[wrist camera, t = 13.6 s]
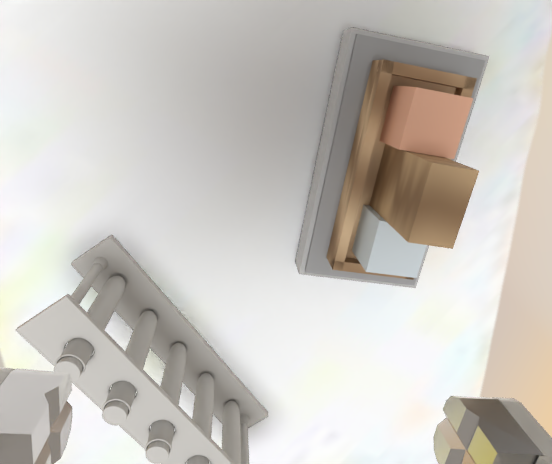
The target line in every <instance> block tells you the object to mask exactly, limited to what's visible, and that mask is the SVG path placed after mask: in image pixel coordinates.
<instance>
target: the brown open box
mask: <svg viewBox="0 0 552 464" xmlns="http://www.w3.org/2000/svg"><path fill="white" fill-rule="evenodd" d="M476 80H477V78H472V77H467V76H463V75H458V74H453V73H448V72H443V71H438V70H433V69H428V68H423V67H419V66H414V65H409V64H404V63H399V62H394V61H389V60H384V59H383V60H373V61H372V65H371V70H370V74H369V78H368V82H367V87H366V91H365V95H364V99H363V104H362V108H361V112H360V116H359V121H358V125H357V129H356V133H355V138H354V142H353V146H352V150H351V155H350V159H349V163H348V167H347V172H346V176H345V180H344V184H343V189H342V193H341V197H340V201H339V206H338V210H337V214H336V218H335V223H334V227H333V231H332V235H331V240H330V244H329V248H328V252H327V257H326V258H327V260H328V262H329V264H330V266H331V268H332V269H333V270H338V271H346V272H354V273H362V274H370V275H378V276H386V277H395V278H403V279H411V280H414V278H412V277H404V276H396V275H388V274H379V273H371V272H366V271H365V270H364V268H363V267H362V265H361V264H360V262H359V261H358V259H357V258H356V256H355V255H354V253H353V252H352V248H353V244H354V240H355V236H356V232H357V228H358V224H359V220H360V216H361V212H362V208H363V205H370V206H371V207H372V208H373V209H374V210H375V211H376V212H377V213H378V214H379V215H380V216H381V217H382V218H383V219H384V220H385V221H386V222H387V223H388V224H389V225H390V226H391V227H392V228H394V229H395V230H396V231H397V232H398V233H399V234H400V235H401V236H402V237H403V238H404V239H405V240H406V241H407V242H408V243H416V244H423V245H430V246H437V247H445V248H452V249H453V246H454V243H455V240H456V237H457V234H458V231H459V228H460V226H461V223H462V220H463V217H464V214H465V211H466V208H467V205H468V202H469V199H470V196H471V193H472V190H473V187H474V184H475V182H476V179H477V176H478V173H479V171H478V170H476V169H473V168H470V167H468V166H465V165H463V164H460V163H458V162H455V161H453V160H451V158H445V157H439V156H433V155H427V154H421V153H416V152H410V151H404V150H399V149H396V148H394V147H392V146H390V145H388V144H385V143H383V142H381V141H380V137H381V133H382V129H383V126H384V122H385V118H386V114H387V110H388V106H389V102H390V98H391V94H392V90H393V86H408V87H418V88H423V89H428V90H434V91H439V92H444V93H449V94H454V95H459V96H464V97H469V98H471V96H472V93H473V90H474V87H475V83H476Z"/></svg>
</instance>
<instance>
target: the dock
mask: <svg viewBox="0 0 552 464" xmlns="http://www.w3.org/2000/svg"><path fill="white" fill-rule="evenodd" d="M383 59H384V60H389V61H394V62H399V63H404V64H409V65H414V66H419V67H423V68H428V69H433V70H438V71H443V72H448V73H453V74H458V75H463V76H467V77H472V78H477V80H476V83H475V87H474V90H473V93H472V96H471V98H473V101H472V105H471V108H470V111H469V114H468V117H467V120H466V123H465V127H464V130H463V133H462V136H461V139H460V142H459V146H458V149H457V152H456V155H455V158H454V159H451V160H453V161H455V162H456V159H457V156H458V153H459V150H460V147H461V144H462V140H463V137H464V134H465V131H466V128H467V125H468V122H469V118H470V115H471V112H472V109H473V106H474V103H475V100H476V96H477V93H478V90H479V87H480V84H481V81H482V78H483V74H484V71H485V68H486V65H487V62H488V59H489V56H486V55H481V54H476V53H472V52H467V51H462V50H457V49H453V48H448V47H443V46H439V45H434V44H429V43H424V42H420V41H415V40H410V39H406V38H401V37H396V36H391V35H387V34H382V33H377V32H373V31H368V30H363V29H358V28H354V27H351V28H349V29H346V30H344V31H343V34H342V39H341V44H340V49H339V53H338V58H337V63H336V68H335V73H334V78H333V82H332V87H331V92H330V97H329V102H328V106H327V111H326V116H325V121H324V126H323V130H322V135H321V140H320V145H319V150H318V155H317V159H316V164H315V169H314V174H313V179H312V183H311V188H310V193H309V198H308V203H307V207H306V212H305V217H304V222H303V227H302V231H301V236H300V241H299V246H298V251H297V256H296V260H295V263H296V266H297V269H298V272H299V274H303V275H311V276H320V277H328V278H337V279H345V280H353V281H362V282H370V283H378V284H387V285H395V286H403V287H412V288H416V285H417V282H418V279H419V276H420V272H421V269H422V266H423V263H424V260H425V257H426V254H427V250H428V247H429V245H427V247H426V250H425V253H424V256H423V259H422V263H421V266H420V269H419V272H418V275H417V278H414V280H411V279H403V278H395V277H386V276H378V275H370V274H362V273H354V272H346V271H338V270H333V269H332V268H331V266H330V264H329V262H328V260H327V258H326V257H327V252H328V248H329V244H330V240H331V235H332V231H333V227H334V223H335V218H336V214H337V210H338V206H339V201H340V197H341V193H342V189H343V184H344V180H345V176H346V172H347V167H348V163H349V159H350V155H351V150H352V146H353V142H354V138H355V133H356V129H357V125H358V121H359V116H360V112H361V108H362V104H363V99H364V95H365V91H366V87H367V82H368V78H369V74H370V70H371V65H372V61H373V60H383Z"/></svg>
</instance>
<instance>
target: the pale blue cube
mask: <svg viewBox="0 0 552 464" xmlns="http://www.w3.org/2000/svg"><path fill="white" fill-rule="evenodd" d="M426 247H427V245H423V244H416V243H408V242H407V241H406V240H405V239H404V238H403V237H402V236H401V235H400V234H399V233H398V232H397V231H396V230H395V229H394V228H392V227H391V226H390V225H389V224H388V223H387V222H386V221H385V220H384V219H383V218H382V217H381V216H380V215H379V214H378V213H377V212H376V211H375V210H374V209H373V208H372V207H371V206H370V205H363V208H362V212H361V216H360V220H359V224H358V228H357V232H356V236H355V240H354V244H353V248H352V252H353V253H354V255H355V256H356V258H357V259H358V261H359V262H360V264H361V265H362V267H363V268H364V270H365V271H366V272H371V273H379V274H388V275H396V276H404V277H412V278H417V275H418V272H419V269H420V266H421V263H422V259H423V256H424V253H425V250H426Z"/></svg>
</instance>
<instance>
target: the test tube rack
mask: <svg viewBox="0 0 552 464" xmlns="http://www.w3.org/2000/svg"><path fill="white" fill-rule="evenodd" d="M71 265H72V266H73V268H74V269H75V270H76V271H77V272H78V273H79V274H80V275H81V276H82V277H83V278H84V279H83V280H82V282H81V283H80V284H79V286H78V287H77V289H76V290H75V291H74V293H73V294H72V295H71V296H70V295H69V294H67V295H66V296H64V297H63V298H61V299H60V300H58V301H57V302H55V303H54V304H52V305H51V306H49V307H48V308H46V309H45V310H43V311H42V312H40V313H39V314H37V315H36V316H34V317H33V318H31V319H30V320H28V321H27V322H25V323H24V324H22V325H21V326H19V327H18V328H17V329H16V331H17V332H18V333H19V334H20V335H21V336H22V337H23V338H24V339H25V340H26V341H27V342H28V343H30V344H31V345H32V346H33V347H34V348H35V349H36V350H37V351H38V352H39V353H40V354H42V355H43V356H44V357H45V358H46V359H47V360H48V361H49V362H50V363H51V364H52V365H54V366H55V367H54V372H64V373H69V374H70V375H71V380H72V383H73V384H74V385H75V386H76V387H78V388H79V389H80V390H81V391H82V392H83V393H84V394H85V395H86V396H87V397H88V398H90V399H91V400H92V401H93V402H94V403H95V404H96V405H97V406H98V407H99V408H100V409H101V410H102V411H103V413H102V417H103V419H104V420H105V421H106V422H107V423H108V424H111V425H119V426H120V427H121V428H122V429H123V430H124V431H125V432H127V433H128V434H129V435H130V436H131V437H132V438H133V439H134V440H135V441H136V442H137V443H139V444H140V445H141V446H142V447H143V448H144V449H145V451H146V458H147V459H148V460H149V461H150V462H152V463H154V464H186V462H187V464H209V462H210V464H249V447H248V428H249V427H251V426H253V425H255V424H256V423H258V422H260V421H261V420H263V419H265V418H267V417H268V412H267V410H266V409H265V408H264V407H263V406H262V405H261V404H260V402H259V401H258V400H257V399H256V398H255V397H254V396H253V394H252V393H251V392H250V391H249V390H248V389H247V388H246V387H245V385H244V384H243V383H242V382H241V381H240V380H239V379H238V377H237V376H236V375H235V374H234V373H233V372H232V371H231V369H230V368H229V367H228V366H227V365H226V364H225V363H224V361H223V360H222V359H221V358H220V357H219V356H218V355H217V354H216V352H215V351H214V350H213V349H212V348H211V347H210V346H209V344H208V343H207V342H206V341H205V340H204V339H203V338H202V336H201V335H200V334H199V333H198V332H197V331H196V330H195V328H194V327H193V326H192V325H191V324H190V323H189V322H188V321H187V319H186V318H185V317H184V316H183V315H182V314H181V313H180V311H179V310H178V309H177V308H176V307H175V306H174V305H173V303H172V302H171V301H170V300H169V299H168V298H167V297H166V295H165V294H164V293H163V292H162V291H161V290H160V289H159V288H158V286H157V285H156V284H155V283H154V282H153V281H152V280H151V278H150V277H149V276H148V275H147V274H146V273H145V272H144V270H143V269H142V268H141V267H140V266H139V265H138V264H137V262H136V261H135V260H134V259H133V258H132V257H131V256H130V254H129V253H128V252H127V251H126V250H125V249H124V248H123V246H122V245H121V244H120V243H119V242H118V241H117V240H116V239H115V237H114V236H113V235H111V236H109V237H108V238H106V239H105V240H103V241H102V242H100V243H99V244H97V245H96V246H94V247H93V248H91V249H90V250H89V251H87V252H86V253H84V254H83V255H81V256H80V257H78V258H77V259H75V260H74V261H73V262H72V263H71ZM91 286H92V287H93V288H94V290H95V291H96V292H97V293H98V295H97V297H96V299H95V300H94V302H93V304H92V305H91V307H90V308H89V310H88V312H86V311H85V310H84V309H83V308H82V307H81V306H80V305H79V304H80V302H81V301H82V299H83V298H84V296H85V295H86V293H87V292H88V290H89V289H90V287H91ZM114 311H115V312H116V313H117V314H118V315H119V316H120V317H121V318H122V319H123V320H124V321H125V322H126V323H127V324H128V325H129V326H130V327H131V328H132V329H133V330H134V331H133V333H132V336H131V338H130V341H129V344H128V346H127V349H126V351H124V350H123V349H122V348H121V347H120V346H119V345H118V344H117V343H116V342H115V341H114V340H113V339H112V338H111V337H110V336H109V335H108V334H107V333H106V332H105V331H104V330H105V328H106V326H107V324H108V322H109V320H110V318H111V316H112V314H113V312H114ZM67 342H68V344H67ZM66 344H67V346H66ZM65 346H66V347H65ZM149 348H151V349H152V350H153V352H154V353H155V354H156V355H157V356H158V357H159V358H160V359H161V360H162V361H163V362H164V363H165V364H166V365H165V369H164V374H163V378H162V382H161V386H159V385H158V384H157V383H156V382H155V381H154V380H153V379H152V378H151V377H150V376H149V375H148V374H147V373H146V372H145V371H144V370H143V368H144V364H145V361H146V358H147V355H148V351H149ZM93 351H94V353H93ZM92 353H93V355H92ZM91 355H92V356H91ZM182 382H183V383H184V384H185V385H186V386H187V387H188V388H189V389H190V390H191V391H192V392H193V394H194V395H195V402H194V410H193V418H192V419H191V418H190V417H189V416H188V415H187V414H186V413H185V412H184V411H183V410H182V409H181V408H180V407H179V406H178V405H179V399H180V393H181V387H182ZM111 386H112V387H111ZM110 387H111V389H110ZM136 390H137V393H136ZM135 393H136V396H135ZM212 414H213V415H214V416H215V417H216V418H217V419H218V420H219V421H220V422H221V423H222V424H223V427H222V449H221V448H220V447H219V446H218V445H217V444H216V443H215V442H214V441H213V440H212V439H211V430H212ZM151 424H152V425H151ZM150 426H151V429H150ZM174 429H175V432H174Z"/></svg>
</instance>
